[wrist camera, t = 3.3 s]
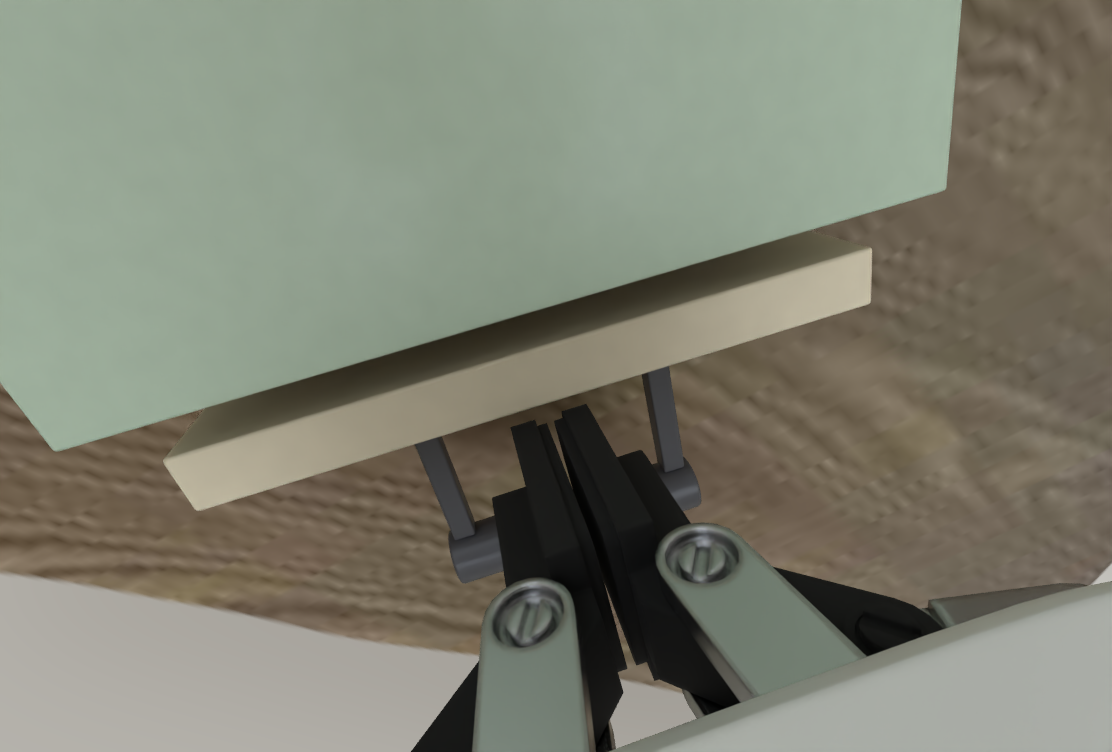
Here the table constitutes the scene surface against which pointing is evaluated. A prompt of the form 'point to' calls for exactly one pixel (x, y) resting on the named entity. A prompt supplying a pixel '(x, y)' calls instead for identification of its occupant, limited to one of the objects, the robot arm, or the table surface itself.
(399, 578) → the table surface
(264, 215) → the cabinet
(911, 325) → the table surface
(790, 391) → the table surface
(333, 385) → the drawer
